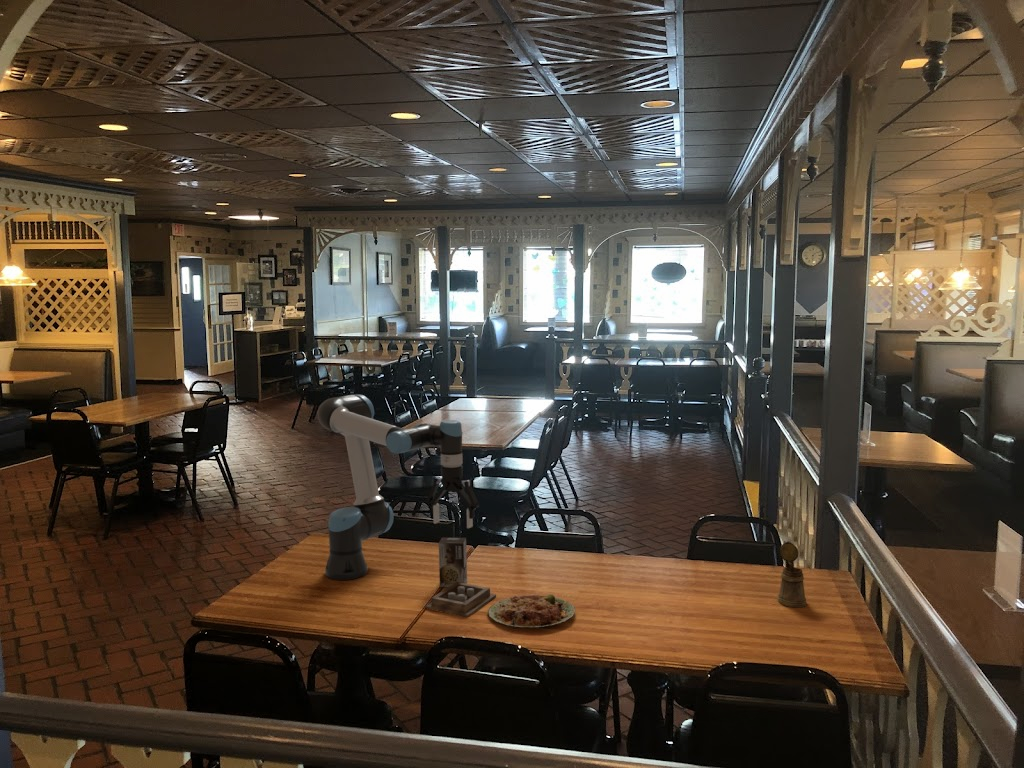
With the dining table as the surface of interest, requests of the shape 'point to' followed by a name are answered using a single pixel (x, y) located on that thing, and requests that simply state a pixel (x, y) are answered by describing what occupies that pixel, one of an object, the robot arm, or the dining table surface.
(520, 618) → the rice dish
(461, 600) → the peg stand
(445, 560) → the coffee box
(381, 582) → the dining table surface
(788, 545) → the disc topped pedestal
